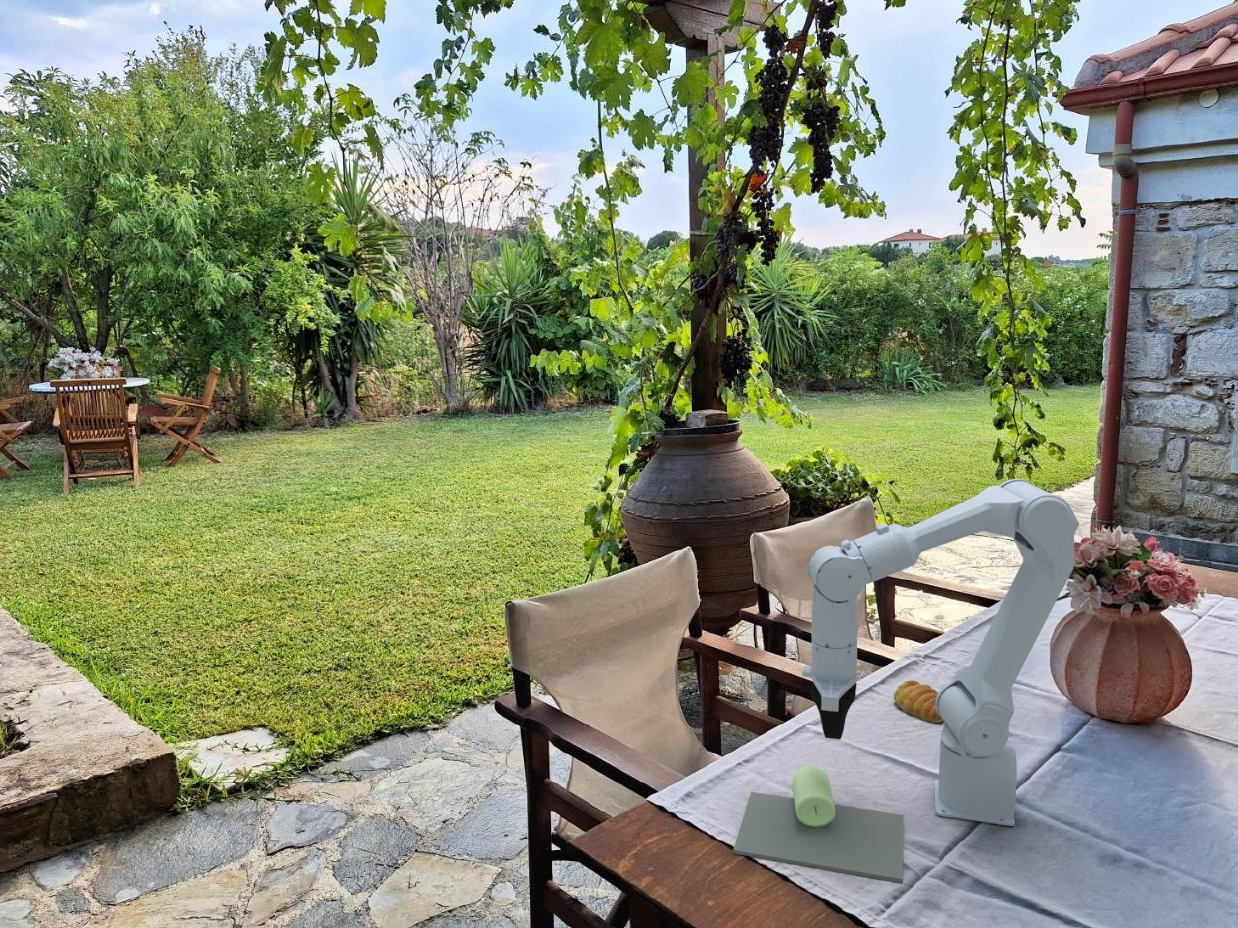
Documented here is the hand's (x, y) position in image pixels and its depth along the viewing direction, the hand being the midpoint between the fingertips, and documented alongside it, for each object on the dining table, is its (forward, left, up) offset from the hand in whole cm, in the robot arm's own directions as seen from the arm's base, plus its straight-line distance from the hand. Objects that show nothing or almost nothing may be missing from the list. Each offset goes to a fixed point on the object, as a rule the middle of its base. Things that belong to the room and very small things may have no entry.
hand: (833, 736), depth 113 cm
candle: (+3, -1, -8) cm, 8 cm away
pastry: (-12, -31, -11) cm, 35 cm away
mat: (+1, +7, -10) cm, 12 cm away
